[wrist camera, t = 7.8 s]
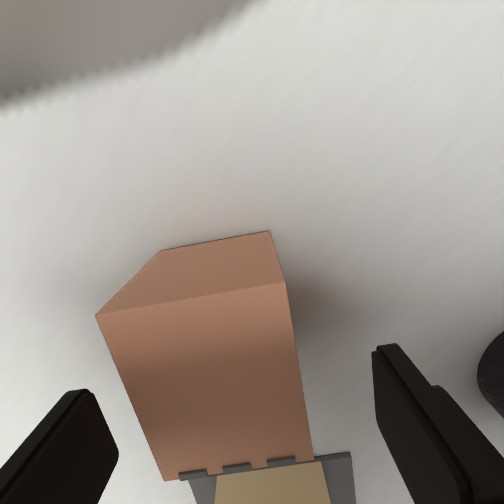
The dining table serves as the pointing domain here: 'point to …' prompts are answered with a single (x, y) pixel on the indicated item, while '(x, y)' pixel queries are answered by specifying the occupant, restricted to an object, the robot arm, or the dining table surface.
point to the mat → (333, 465)
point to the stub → (211, 359)
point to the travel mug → (493, 374)
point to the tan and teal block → (274, 486)
